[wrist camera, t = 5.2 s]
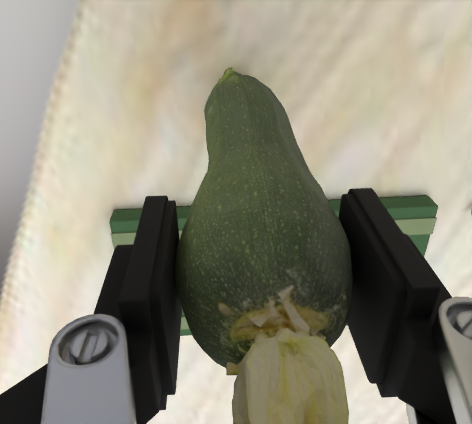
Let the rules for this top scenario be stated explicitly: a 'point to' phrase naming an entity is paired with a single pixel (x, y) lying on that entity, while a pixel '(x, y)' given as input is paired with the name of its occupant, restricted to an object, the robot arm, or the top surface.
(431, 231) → the green rectangular slab
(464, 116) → the top surface
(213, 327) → the vegetable
